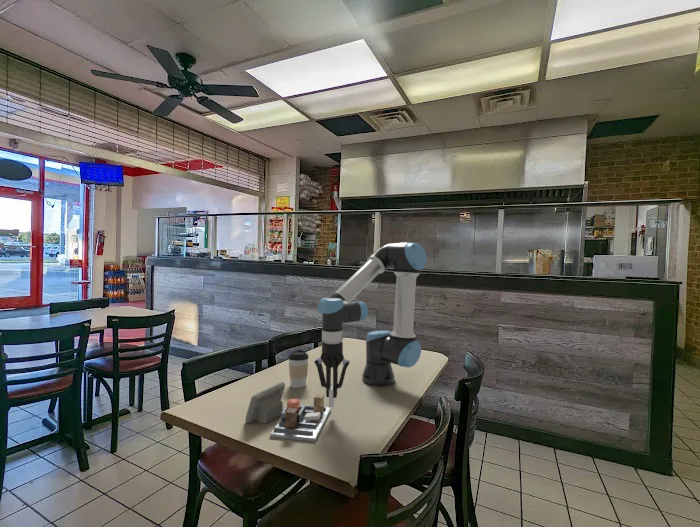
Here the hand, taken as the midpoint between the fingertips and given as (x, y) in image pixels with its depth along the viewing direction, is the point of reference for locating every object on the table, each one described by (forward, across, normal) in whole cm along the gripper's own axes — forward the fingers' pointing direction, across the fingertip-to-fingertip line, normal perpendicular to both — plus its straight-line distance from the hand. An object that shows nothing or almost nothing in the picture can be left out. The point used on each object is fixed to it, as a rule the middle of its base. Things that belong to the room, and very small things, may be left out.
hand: (331, 405), depth 124 cm
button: (0, +12, +6) cm, 14 cm away
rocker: (+1, +5, +6) cm, 8 cm away
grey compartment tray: (+4, +9, +6) cm, 12 cm away
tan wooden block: (+3, +5, 0) cm, 5 cm away
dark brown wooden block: (+3, +11, +13) cm, 17 cm away
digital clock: (+4, +24, +4) cm, 24 cm away
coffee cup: (+4, +21, -27) cm, 34 cm away
